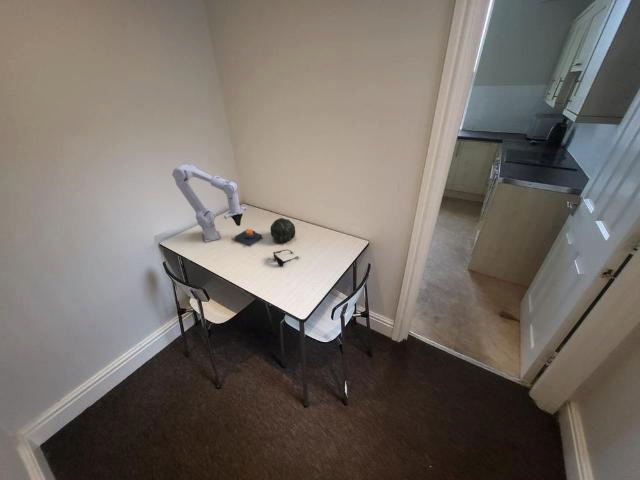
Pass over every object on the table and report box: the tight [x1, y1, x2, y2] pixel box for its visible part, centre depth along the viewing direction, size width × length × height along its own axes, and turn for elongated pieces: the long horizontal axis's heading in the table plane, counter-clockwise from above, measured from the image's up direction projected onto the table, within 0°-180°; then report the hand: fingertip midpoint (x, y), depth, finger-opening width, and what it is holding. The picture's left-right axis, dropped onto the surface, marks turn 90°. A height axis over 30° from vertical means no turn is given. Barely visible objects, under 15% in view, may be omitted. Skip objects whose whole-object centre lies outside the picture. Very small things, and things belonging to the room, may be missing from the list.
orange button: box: [245, 228, 254, 235], centre depth 150 cm, size 4×4×2 cm
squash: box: [269, 217, 296, 243], centre depth 150 cm, size 14×15×15 cm
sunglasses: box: [272, 249, 299, 267], centre depth 135 cm, size 11×12×5 cm
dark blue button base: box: [234, 228, 263, 247], centre depth 152 cm, size 12×10×4 cm
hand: (238, 225), depth 148 cm, fingers closed
